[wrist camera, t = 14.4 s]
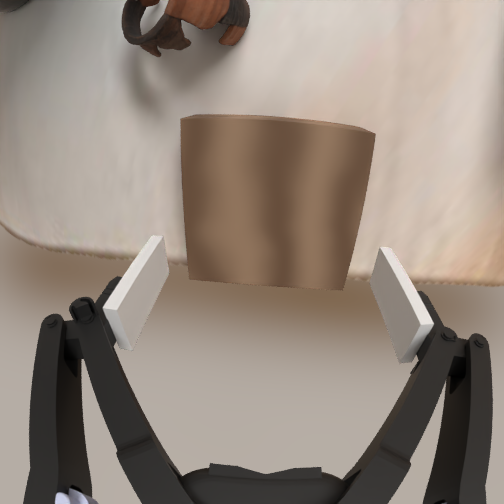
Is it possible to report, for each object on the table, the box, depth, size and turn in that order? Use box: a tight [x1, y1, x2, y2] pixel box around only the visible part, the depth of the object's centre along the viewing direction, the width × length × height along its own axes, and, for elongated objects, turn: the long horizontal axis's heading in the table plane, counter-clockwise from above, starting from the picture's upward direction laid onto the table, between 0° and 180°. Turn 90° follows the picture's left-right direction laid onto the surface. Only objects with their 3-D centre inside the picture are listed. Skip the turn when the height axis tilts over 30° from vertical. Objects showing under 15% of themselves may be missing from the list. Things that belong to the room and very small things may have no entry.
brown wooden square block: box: [181, 114, 376, 290], centre depth 25 cm, size 15×15×5 cm
